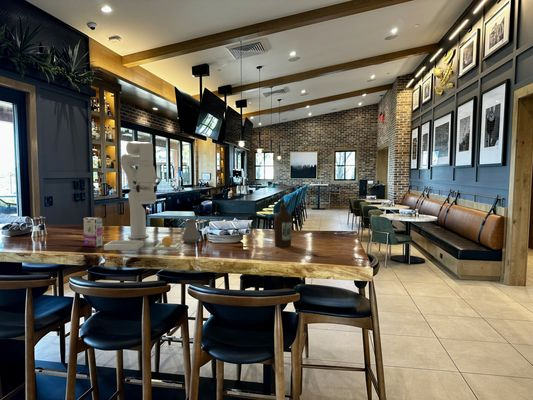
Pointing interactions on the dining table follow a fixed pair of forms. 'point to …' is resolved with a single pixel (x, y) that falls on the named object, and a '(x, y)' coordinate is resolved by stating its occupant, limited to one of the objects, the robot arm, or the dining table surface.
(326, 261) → the dining table surface
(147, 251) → the dining table surface
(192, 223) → the coffee pot
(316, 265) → the dining table surface
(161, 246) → the tray
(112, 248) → the shallow white tray
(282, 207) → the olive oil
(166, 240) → the ball
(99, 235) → the candy bar box
